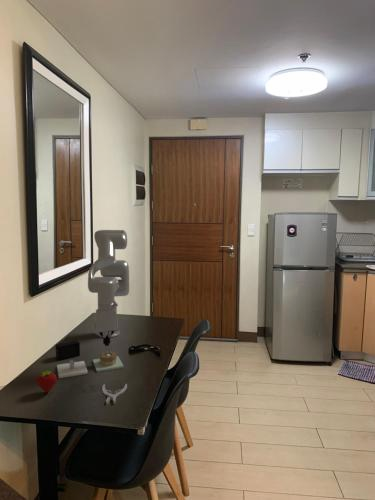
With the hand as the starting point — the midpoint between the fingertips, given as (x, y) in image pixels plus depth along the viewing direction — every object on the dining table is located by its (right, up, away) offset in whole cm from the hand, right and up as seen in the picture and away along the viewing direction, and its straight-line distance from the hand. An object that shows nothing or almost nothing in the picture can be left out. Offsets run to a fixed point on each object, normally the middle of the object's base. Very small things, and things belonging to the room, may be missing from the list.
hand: (106, 345), depth 173 cm
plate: (+1, -9, -1) cm, 9 cm away
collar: (+1, -8, -1) cm, 8 cm away
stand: (-14, -9, -7) cm, 18 cm away
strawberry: (-17, -12, -27) cm, 34 cm away
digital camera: (-21, -8, +7) cm, 23 cm away
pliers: (+9, -13, -28) cm, 32 cm away
